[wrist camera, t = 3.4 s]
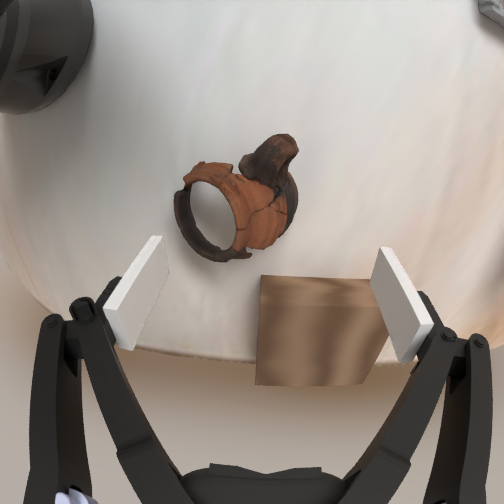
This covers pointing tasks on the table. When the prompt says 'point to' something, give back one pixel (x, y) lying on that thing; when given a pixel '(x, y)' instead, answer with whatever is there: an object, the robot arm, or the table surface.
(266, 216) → the broken clay pottery vessel
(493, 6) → the slate frame
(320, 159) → the table surface
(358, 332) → the brown wooden square block
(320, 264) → the table surface
